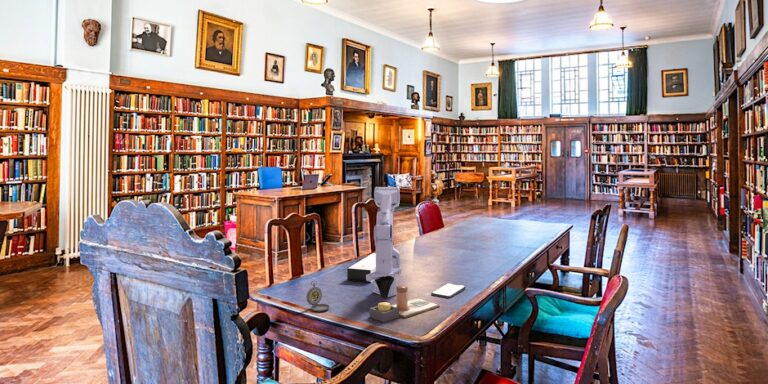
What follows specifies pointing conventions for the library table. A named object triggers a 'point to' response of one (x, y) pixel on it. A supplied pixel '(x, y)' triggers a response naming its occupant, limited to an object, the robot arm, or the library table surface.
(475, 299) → the library table surface
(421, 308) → the colouring board
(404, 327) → the library table surface
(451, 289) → the phone case
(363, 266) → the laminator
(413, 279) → the library table surface
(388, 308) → the button
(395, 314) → the button base
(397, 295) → the brown cylinder
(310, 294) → the pocket watch
